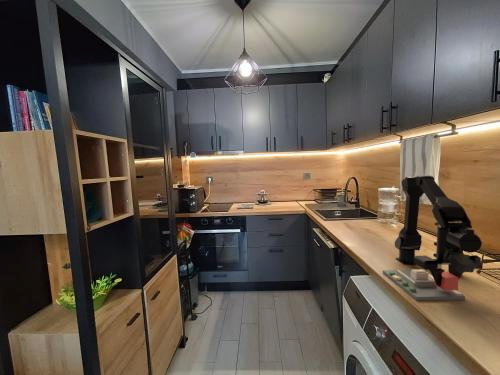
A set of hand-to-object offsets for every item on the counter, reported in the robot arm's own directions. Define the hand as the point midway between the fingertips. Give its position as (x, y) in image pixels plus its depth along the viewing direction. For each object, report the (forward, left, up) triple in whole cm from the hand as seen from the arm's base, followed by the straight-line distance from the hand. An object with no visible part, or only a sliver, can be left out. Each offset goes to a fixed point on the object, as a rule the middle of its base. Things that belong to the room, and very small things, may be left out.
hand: (445, 286), depth 79 cm
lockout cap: (0, 0, 0) cm, 0 cm away
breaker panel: (-7, -4, -3) cm, 9 cm away
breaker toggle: (-7, -4, -2) cm, 8 cm away
